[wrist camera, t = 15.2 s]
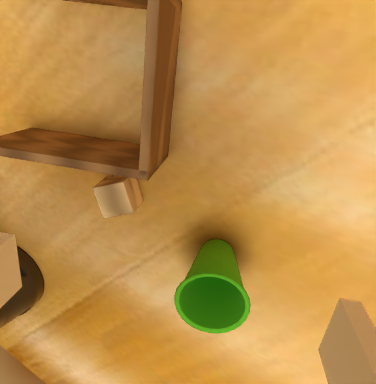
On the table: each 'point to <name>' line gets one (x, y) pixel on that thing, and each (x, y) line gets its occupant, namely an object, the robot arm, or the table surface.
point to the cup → (213, 291)
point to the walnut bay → (151, 110)
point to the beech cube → (118, 195)
